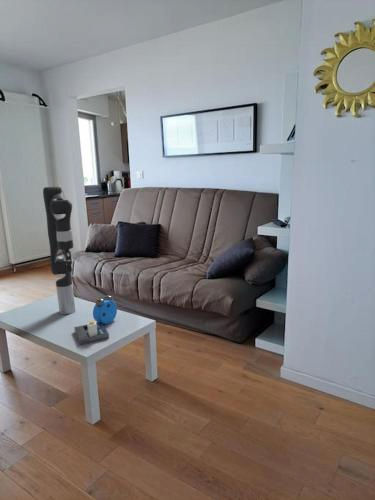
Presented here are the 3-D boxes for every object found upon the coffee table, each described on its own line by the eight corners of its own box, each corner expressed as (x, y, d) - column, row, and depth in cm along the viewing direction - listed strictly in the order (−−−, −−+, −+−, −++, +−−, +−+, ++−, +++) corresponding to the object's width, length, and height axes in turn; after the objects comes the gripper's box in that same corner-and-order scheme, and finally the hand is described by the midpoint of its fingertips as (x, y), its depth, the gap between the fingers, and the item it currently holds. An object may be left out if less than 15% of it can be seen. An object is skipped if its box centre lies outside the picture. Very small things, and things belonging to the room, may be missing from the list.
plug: (88, 337, 175) (86, 321, 173) (96, 335, 177) (94, 319, 175) (90, 340, 171) (88, 324, 170) (98, 338, 173) (96, 322, 171)
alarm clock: (110, 317, 200) (108, 292, 197) (118, 319, 197) (116, 294, 194) (93, 326, 190) (90, 300, 186) (101, 328, 186) (99, 302, 183)
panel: (74, 332, 182) (74, 327, 182) (101, 326, 189) (100, 321, 188) (80, 346, 168) (80, 340, 167) (109, 339, 174) (108, 333, 173)
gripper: (55, 238, 181) (59, 268, 185) (58, 242, 169) (62, 274, 172) (70, 236, 184) (73, 265, 188) (74, 240, 172) (78, 271, 176)
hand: (68, 269), depth 180 cm, fingers open, 8 cm apart
